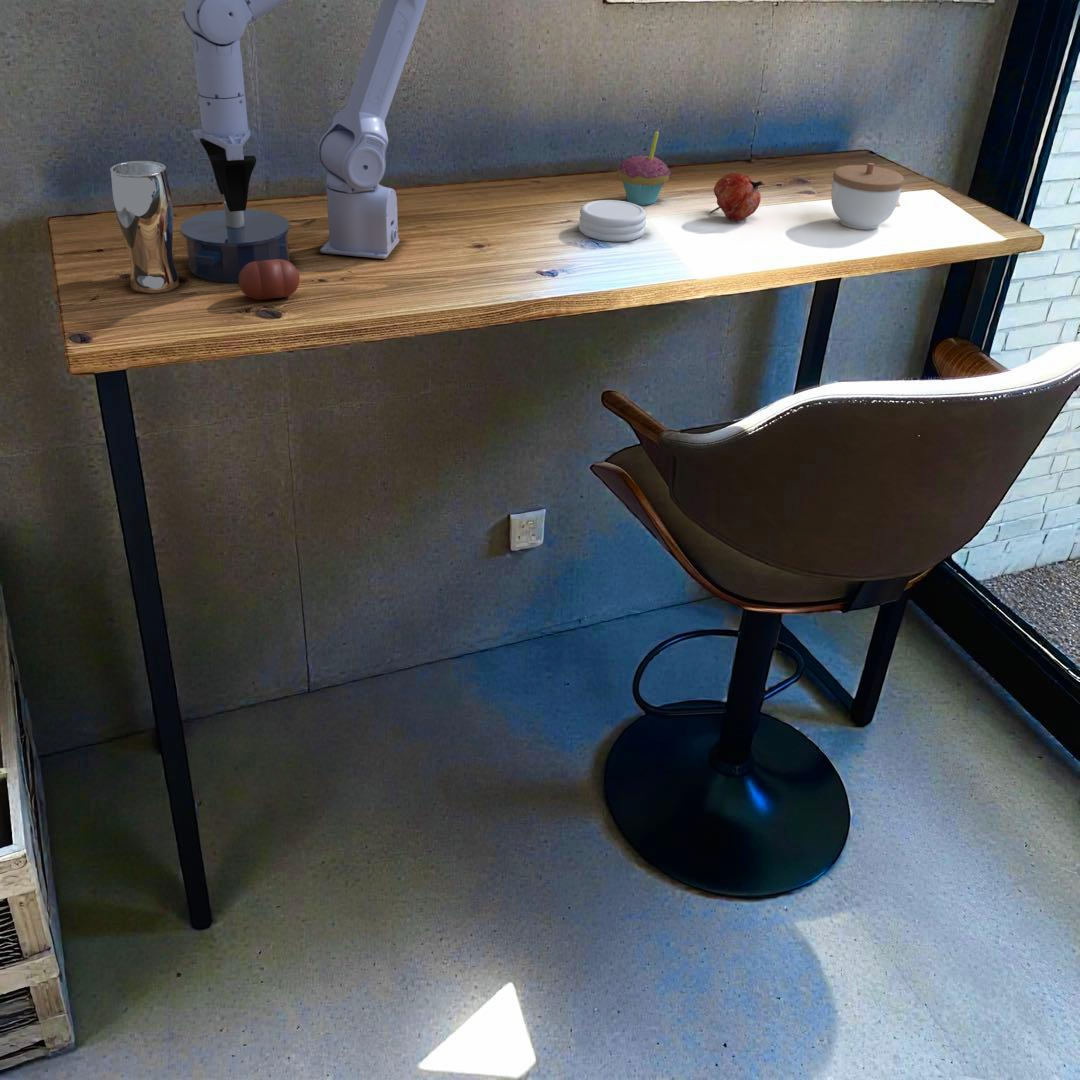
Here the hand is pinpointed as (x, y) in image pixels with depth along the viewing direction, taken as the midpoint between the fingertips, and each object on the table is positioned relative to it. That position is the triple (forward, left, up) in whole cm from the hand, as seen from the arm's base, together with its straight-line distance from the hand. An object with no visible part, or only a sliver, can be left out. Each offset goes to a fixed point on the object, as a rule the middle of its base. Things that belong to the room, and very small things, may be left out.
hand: (232, 201), depth 154 cm
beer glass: (+8, +10, -9) cm, 15 cm away
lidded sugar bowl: (-86, -43, -9) cm, 97 cm away
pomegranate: (-66, -40, -9) cm, 78 cm away
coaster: (-48, -28, -9) cm, 56 cm away
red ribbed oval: (-8, +10, -9) cm, 16 cm away
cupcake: (-51, -45, -9) cm, 69 cm away
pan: (0, 0, -9) cm, 9 cm away
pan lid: (0, 0, -4) cm, 4 cm away
